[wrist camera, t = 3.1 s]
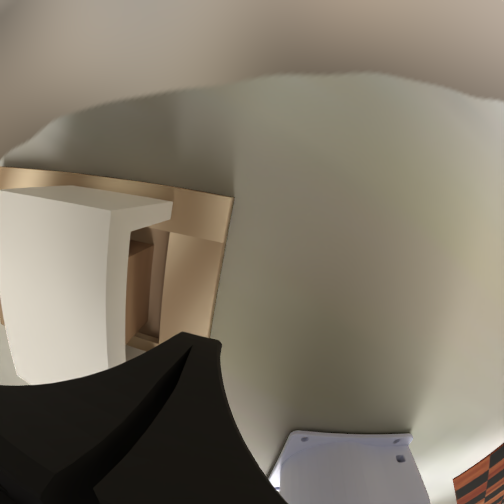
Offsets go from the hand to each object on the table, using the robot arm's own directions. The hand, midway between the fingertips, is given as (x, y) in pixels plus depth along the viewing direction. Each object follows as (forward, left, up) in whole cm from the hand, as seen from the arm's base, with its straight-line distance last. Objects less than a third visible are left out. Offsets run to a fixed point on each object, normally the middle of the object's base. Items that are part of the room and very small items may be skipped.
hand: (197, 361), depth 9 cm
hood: (+6, 0, -5) cm, 8 cm away
